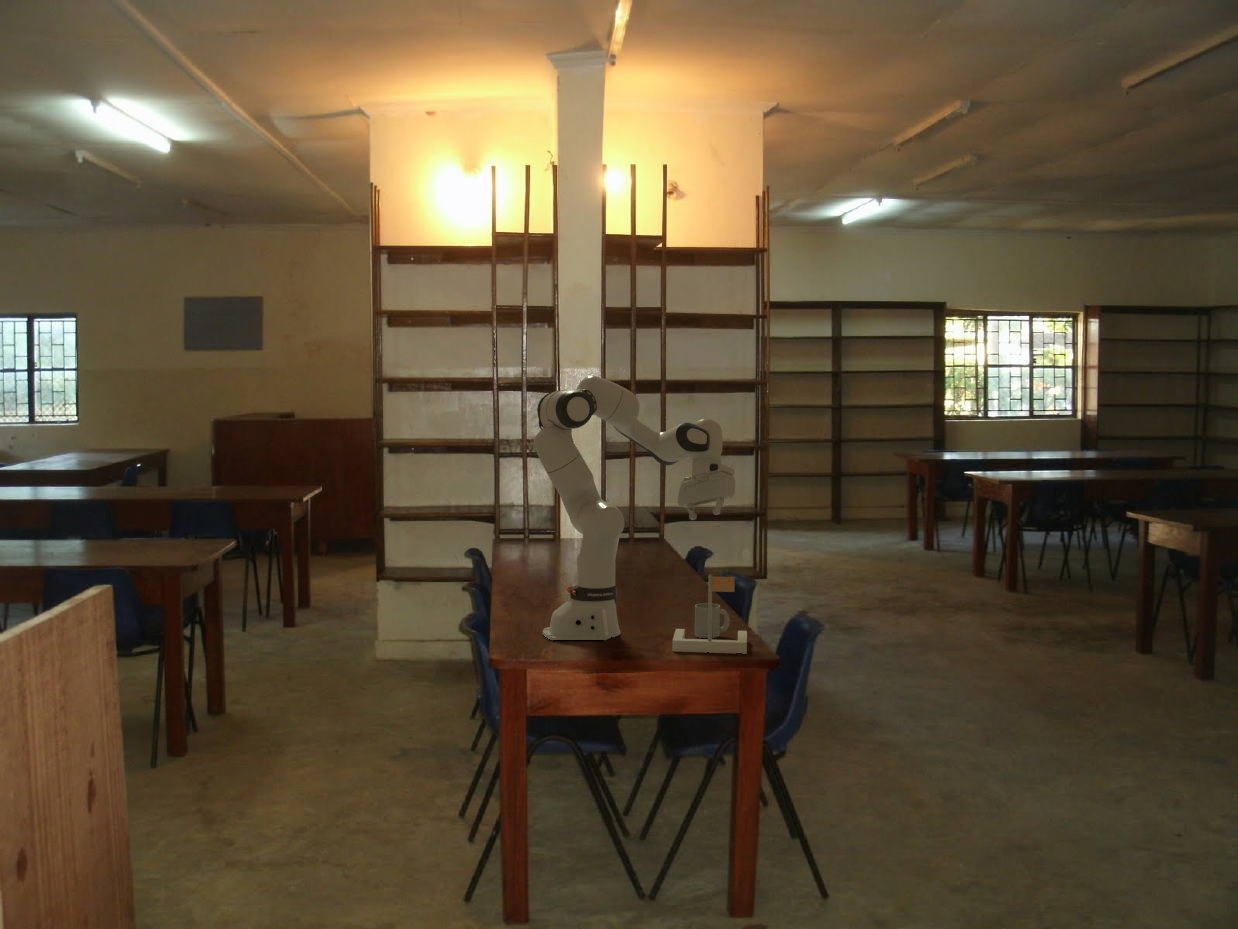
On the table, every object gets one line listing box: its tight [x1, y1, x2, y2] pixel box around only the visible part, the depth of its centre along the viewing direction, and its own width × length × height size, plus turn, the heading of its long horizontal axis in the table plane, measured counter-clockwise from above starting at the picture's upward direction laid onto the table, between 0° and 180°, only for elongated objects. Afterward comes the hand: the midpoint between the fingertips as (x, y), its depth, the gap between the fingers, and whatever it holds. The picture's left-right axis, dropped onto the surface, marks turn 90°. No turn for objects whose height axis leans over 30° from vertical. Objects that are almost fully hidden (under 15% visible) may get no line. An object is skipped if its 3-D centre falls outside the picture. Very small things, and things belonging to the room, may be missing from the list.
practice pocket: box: [671, 574, 748, 655], centre depth 297 cm, size 14×20×21 cm
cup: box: [694, 602, 731, 639], centre depth 310 cm, size 7×10×9 cm
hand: (704, 516), depth 319 cm, fingers open, 8 cm apart
